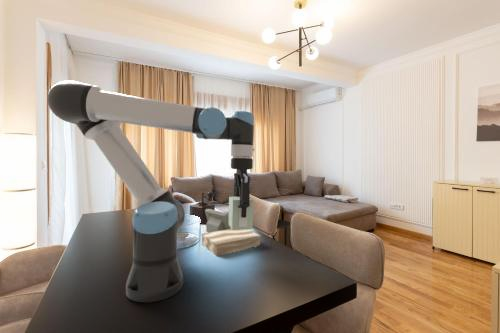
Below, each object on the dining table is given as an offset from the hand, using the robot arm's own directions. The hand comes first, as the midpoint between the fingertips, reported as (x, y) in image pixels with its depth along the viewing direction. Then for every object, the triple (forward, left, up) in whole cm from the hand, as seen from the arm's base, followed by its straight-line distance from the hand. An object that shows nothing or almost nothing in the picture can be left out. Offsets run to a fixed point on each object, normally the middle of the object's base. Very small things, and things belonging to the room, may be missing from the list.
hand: (240, 223), depth 87 cm
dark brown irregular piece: (+57, +7, -14) cm, 59 cm away
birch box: (+18, 0, -15) cm, 23 cm away
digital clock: (+38, +2, -15) cm, 41 cm away
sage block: (0, 0, -1) cm, 1 cm away
